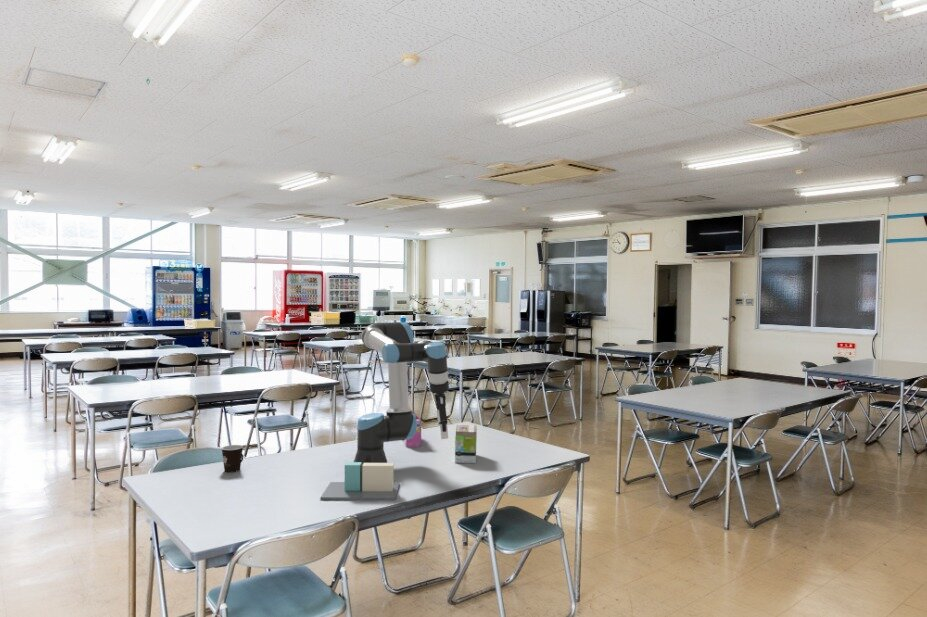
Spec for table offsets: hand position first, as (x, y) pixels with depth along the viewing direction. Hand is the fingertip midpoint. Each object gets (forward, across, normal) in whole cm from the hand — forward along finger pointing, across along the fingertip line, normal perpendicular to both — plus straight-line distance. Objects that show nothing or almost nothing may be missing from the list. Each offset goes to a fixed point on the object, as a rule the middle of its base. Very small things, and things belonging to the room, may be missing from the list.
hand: (442, 431), depth 238 cm
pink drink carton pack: (+35, +69, +13) cm, 79 cm away
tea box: (+31, +35, -12) cm, 48 cm away
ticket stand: (+18, -6, +34) cm, 39 cm away
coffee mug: (+19, +27, +91) cm, 97 cm away
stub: (+17, -6, +37) cm, 42 cm away
